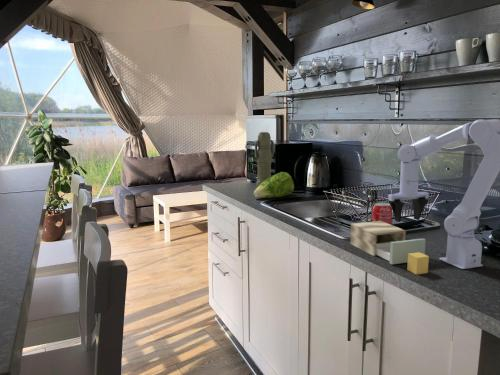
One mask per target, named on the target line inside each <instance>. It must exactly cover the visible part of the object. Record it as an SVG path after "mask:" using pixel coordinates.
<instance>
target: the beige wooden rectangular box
mask: <svg viewBox="0 0 500 375" xmlns="http://www.w3.org/2000/svg"><path fill="white" fill-rule="evenodd" d="M406 231H407V230H405V229H403V228H400V227H398V226H395V225H393V224H391V225H390V224H388V223H385V222H382V221H372V220H371V221H363V222H351V223H350V238H349V239H350V240H349V241H350V242H349V244H350V245H352V246H353V247H355V248H358V249H359V250H361V251H363V252H365V253H367V254H369V255H371V256H373V257H376V256H377V255H376V243H383V242H392V241H394V242H396V241H404V240H406Z"/></svg>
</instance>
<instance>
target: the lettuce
mask: <svg viewBox="0 0 500 375" xmlns="http://www.w3.org/2000/svg"><path fill="white" fill-rule="evenodd" d="M294 183H295V182H294V180H293V178H292V176H291V175H290V174H289V173H288V172H285V171H280V172H278V173H276V174H274V175H271V177H270V178H268V179H266V180H265V181H263V182H262V183H261V184H260V185H259V187H258V188H257V187H256V188H255V190H254V191H253V196H254V197H255V198H259V199H260V198H263V199H276V198H284V197H286V196H289V195H291V194H292V193H293V191H294V189H295V184H294Z"/></svg>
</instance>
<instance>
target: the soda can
mask: <svg viewBox="0 0 500 375" xmlns="http://www.w3.org/2000/svg"><path fill="white" fill-rule="evenodd" d="M371 214H372V215H371V216H372V217H371V222H372V221H382V222H385V223H388V224H390V225H392V221H393V219H392V218H393V210H392V208H391V205H390V204H389V202H375V203H374V205H373V207H372V213H371Z"/></svg>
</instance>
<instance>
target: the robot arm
mask: <svg viewBox="0 0 500 375" xmlns="http://www.w3.org/2000/svg"><path fill="white" fill-rule="evenodd" d="M463 139H466V140H467V139H470V140H472V141H473V142H474V143H475V144H476V146H478V147H479V148H480V149H481V152H482V153H483V158H482V160H481V162H480V164H479V166H478V167H477V170H476V171H475V174H474V176H473V177H472V179H471V182H470V184H469V185H468V188H467V189H466V191H465V194H464V195H463V197H462V200H461V202H460V203H459V204H458V205H457V206H456V207H455V208H453V210H452V212H451V214H449V215H448V216H447V217H446V218H444V221H443V222H444V223H443V225H444V226H443V227H444V230H445V231H446V232H447V238H446V239H447V240H446V252H445V257H439V258H438V259H439V261H442V262H444V263H446V264H449V265H451V266H454V267H456V268H459V269H461V270H465V269H473V268H478V267H479V268H481V267H483V266H484V265H483V264H482V254H483V253H482V252H483V245H482V241H480V240H479V239H477V238H475V230H477V228H478V227H479V225H480V216H481V215H482V212H481V210H480V208H481V207H482V205H483V202H485V200H486V198H487V196H488V194H489V193H490V192H489V191H490V190H491V188H492V186H493V184H494V183H495V181H496V178H497V177H498V174H499V173H500V119H498V118H492V119H477V120H474V121H470V122H467V123H464V124H463V125H460V126H458V127H455V128H452V130H449V131H447V132H445V133H443V134H441V135H439V136H437V135H436V134H426V135H424V137H423V138H421V139H419V140H413V141H412V142H411V144H406V143H405V144H403V145H402V146H400V147H399V149H398V151H397V157H398V159H399V160H400V173H399V174H400V175H399V176H400V177H399V178H400V179H399V192H395V193H391V194H388V195H387V197H388V198H387V201H388V203H389V204H390V206H391V208H392V214H393V218H394V221H395V222H397V223H400V222H401V220H402V212H403V209H404V208H403V207H404V205H405V203H404V202H403V200H404V201H407V200H411V201H412V206H413V219H414V220H417V221H420V219H421V217H422V214H423V211H424V209H425V207H426V205H427V204H428V202H429V200H428V199H429V192H427V191H419V178H420V176H419V175H420V164H421V161H422V160H423V158H427V157H429V156H431V155H433V154H437V153H440V152H441V150H442V148H443V147H444V146H447V145H449V144H451V143H452V144H453V143H455V142H457V141H461V140H463Z"/></svg>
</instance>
